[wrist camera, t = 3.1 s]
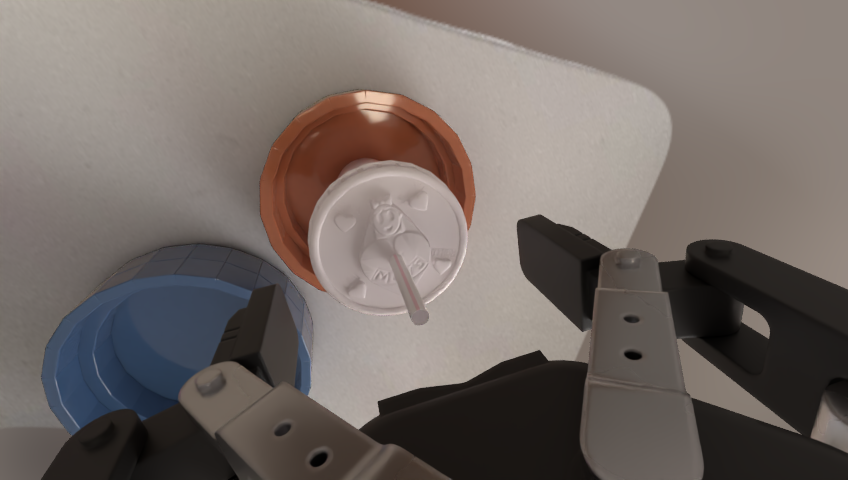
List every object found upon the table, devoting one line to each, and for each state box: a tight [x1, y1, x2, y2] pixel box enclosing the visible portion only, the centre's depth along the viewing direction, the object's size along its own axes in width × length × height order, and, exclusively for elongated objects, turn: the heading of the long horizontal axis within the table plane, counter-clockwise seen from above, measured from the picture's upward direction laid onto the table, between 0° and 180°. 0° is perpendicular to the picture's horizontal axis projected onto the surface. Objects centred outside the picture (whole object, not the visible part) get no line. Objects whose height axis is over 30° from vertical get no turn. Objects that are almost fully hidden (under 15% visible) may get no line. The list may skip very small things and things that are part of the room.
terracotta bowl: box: [260, 89, 476, 292], centre depth 23 cm, size 11×11×4 cm
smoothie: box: [308, 158, 468, 325], centre depth 18 cm, size 6×6×14 cm
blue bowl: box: [41, 244, 313, 436], centre depth 23 cm, size 13×13×4 cm
